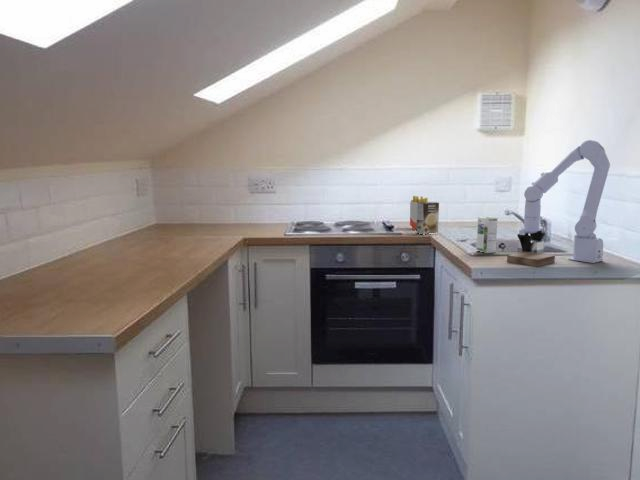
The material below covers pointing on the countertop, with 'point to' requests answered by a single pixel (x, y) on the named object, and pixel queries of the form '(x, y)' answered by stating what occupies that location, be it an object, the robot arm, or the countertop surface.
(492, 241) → the syrup box
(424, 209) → the coffee box
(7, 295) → the countertop surface
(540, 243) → the block
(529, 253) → the stand
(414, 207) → the french fries container
